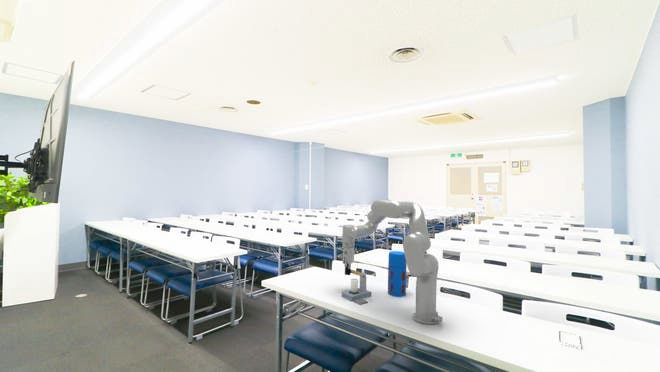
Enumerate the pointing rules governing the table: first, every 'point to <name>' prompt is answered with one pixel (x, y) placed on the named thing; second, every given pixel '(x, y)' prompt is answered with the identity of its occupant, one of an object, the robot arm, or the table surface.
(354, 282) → the plug
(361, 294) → the outlet block
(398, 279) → the thermos
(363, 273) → the clip
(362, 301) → the pad
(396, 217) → the robot arm
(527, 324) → the table surface
